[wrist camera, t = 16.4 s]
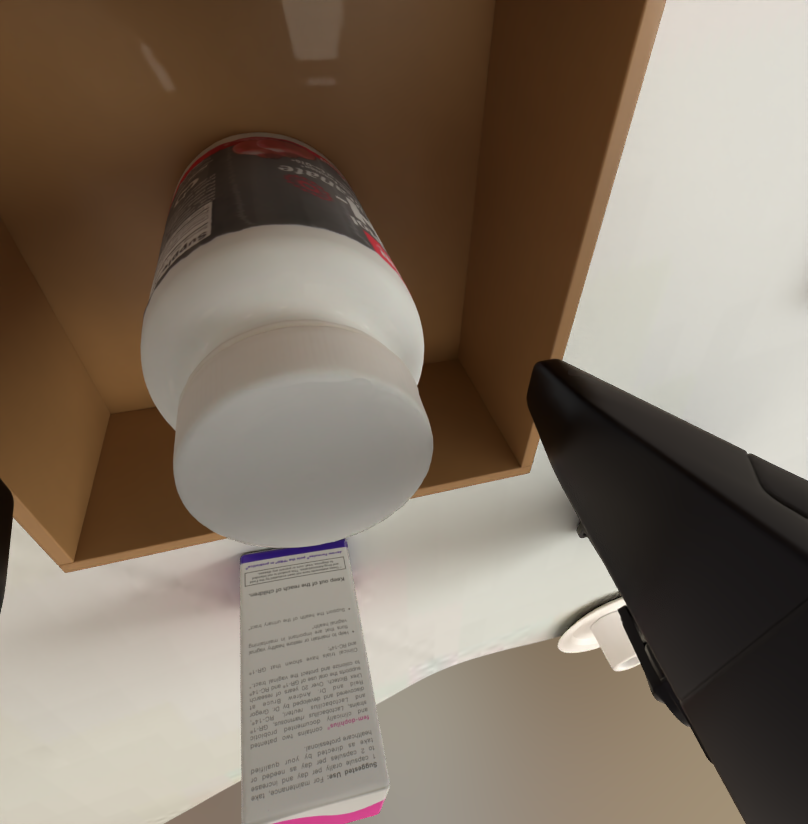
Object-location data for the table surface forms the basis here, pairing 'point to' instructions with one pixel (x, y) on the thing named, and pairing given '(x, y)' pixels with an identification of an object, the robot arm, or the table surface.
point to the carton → (357, 161)
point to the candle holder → (602, 636)
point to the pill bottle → (283, 350)
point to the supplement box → (306, 691)
